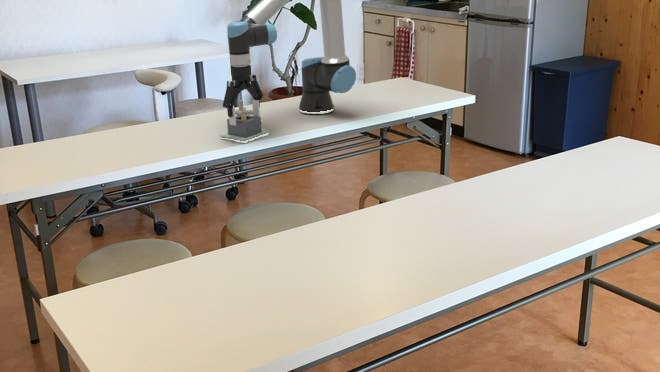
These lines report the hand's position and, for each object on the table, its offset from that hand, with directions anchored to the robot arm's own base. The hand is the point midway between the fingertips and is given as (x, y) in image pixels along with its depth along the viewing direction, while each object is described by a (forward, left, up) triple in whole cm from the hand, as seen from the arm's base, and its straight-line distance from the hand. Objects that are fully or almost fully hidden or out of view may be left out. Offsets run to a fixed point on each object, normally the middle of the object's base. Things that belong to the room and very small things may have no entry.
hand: (245, 120), depth 268 cm
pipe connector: (-14, -14, -7) cm, 21 cm away
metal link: (0, 0, -5) cm, 5 cm away
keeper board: (0, 0, -6) cm, 6 cm away
